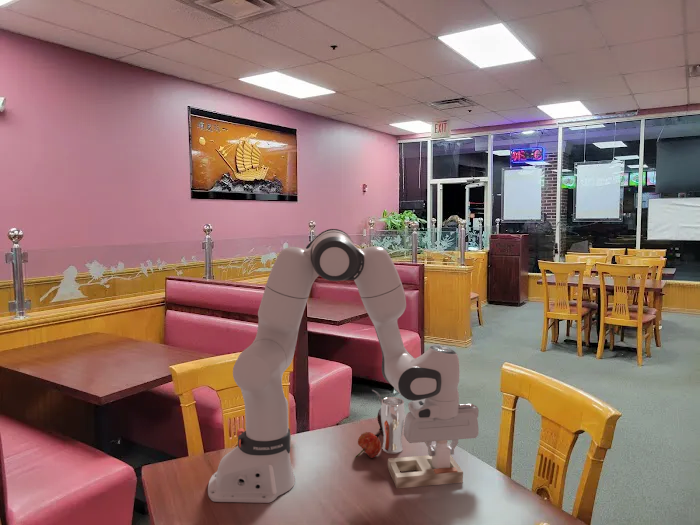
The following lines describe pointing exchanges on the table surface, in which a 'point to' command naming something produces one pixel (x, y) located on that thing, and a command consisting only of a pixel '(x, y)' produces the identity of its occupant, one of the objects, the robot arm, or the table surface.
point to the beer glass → (392, 424)
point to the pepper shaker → (441, 455)
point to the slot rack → (422, 472)
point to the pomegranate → (370, 444)
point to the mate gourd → (379, 413)
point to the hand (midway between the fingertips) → (440, 454)
